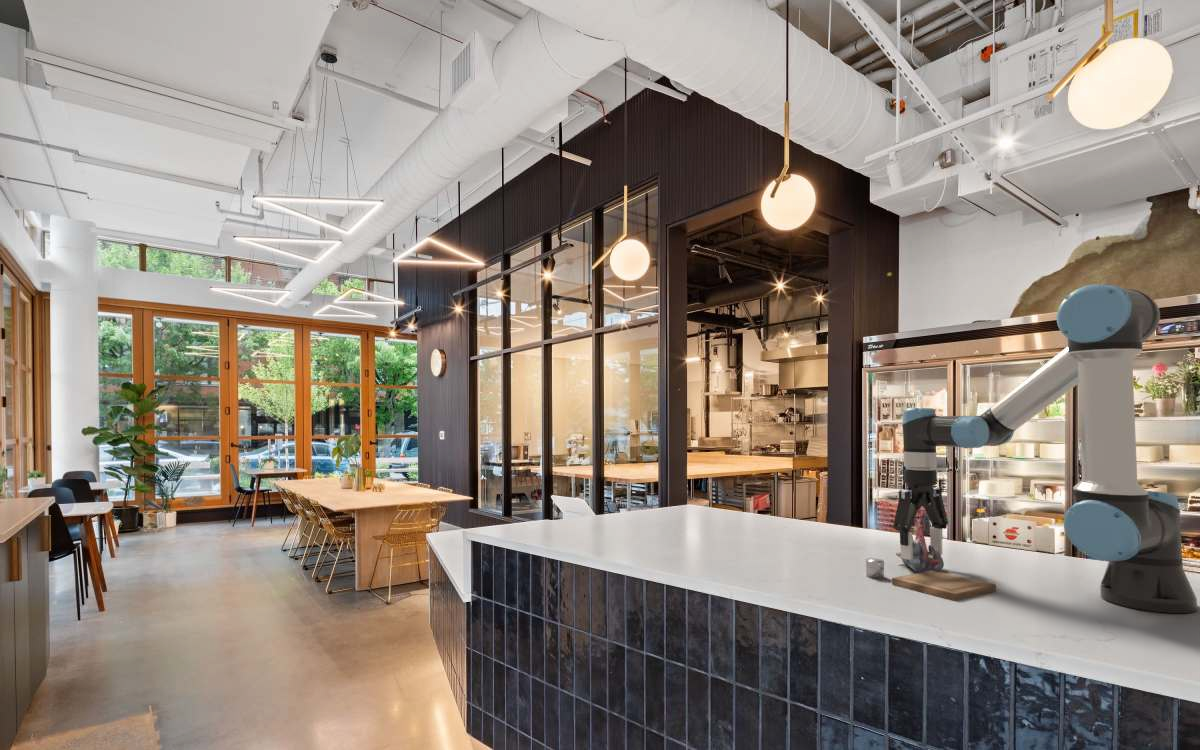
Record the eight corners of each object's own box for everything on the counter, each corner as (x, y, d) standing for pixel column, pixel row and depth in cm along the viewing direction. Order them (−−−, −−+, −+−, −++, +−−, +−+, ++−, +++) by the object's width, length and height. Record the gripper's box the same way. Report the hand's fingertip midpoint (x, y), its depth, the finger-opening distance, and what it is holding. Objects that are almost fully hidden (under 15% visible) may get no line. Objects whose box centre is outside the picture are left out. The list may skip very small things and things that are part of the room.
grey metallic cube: (887, 577, 152) (887, 560, 153) (876, 579, 150) (876, 562, 151) (873, 574, 156) (873, 557, 156) (862, 576, 154) (862, 559, 154)
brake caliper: (959, 564, 153) (922, 524, 155) (922, 592, 154) (886, 553, 156) (945, 553, 164) (911, 517, 166) (910, 579, 165) (877, 543, 168)
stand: (996, 590, 140) (995, 584, 140) (954, 600, 133) (954, 593, 133) (932, 575, 153) (932, 569, 153) (892, 584, 146) (891, 577, 146)
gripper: (934, 465, 169) (936, 548, 168) (876, 469, 158) (877, 557, 157) (962, 468, 163) (964, 554, 162) (903, 471, 152) (905, 564, 150)
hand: (921, 556), depth 159 cm, fingers open, 11 cm apart
